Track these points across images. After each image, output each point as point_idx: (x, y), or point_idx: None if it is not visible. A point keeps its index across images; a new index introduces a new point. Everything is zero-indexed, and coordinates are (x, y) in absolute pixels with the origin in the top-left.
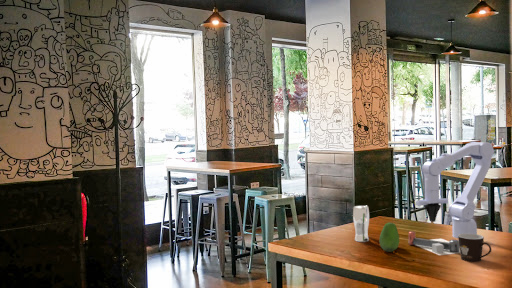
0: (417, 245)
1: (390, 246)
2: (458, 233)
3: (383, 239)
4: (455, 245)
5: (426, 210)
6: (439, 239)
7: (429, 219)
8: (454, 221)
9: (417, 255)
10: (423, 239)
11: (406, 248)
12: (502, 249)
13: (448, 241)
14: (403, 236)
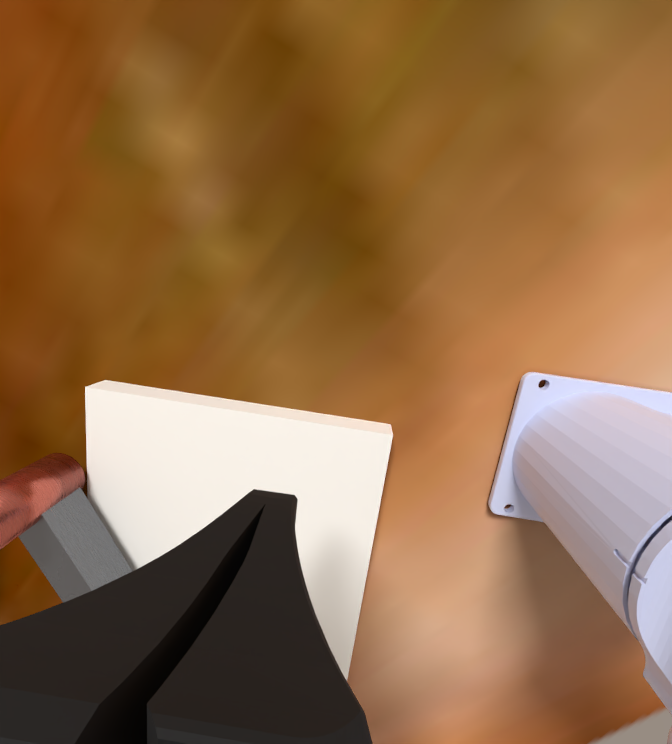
0: (92, 501)
1: None
2: (543, 518)
3: None
4: None
5: (111, 588)
6: (356, 450)
7: (242, 498)
8: (618, 562)
9: (36, 584)
10: (70, 588)
11: (53, 438)
12: (571, 729)
13: (368, 528)
14: (241, 93)
